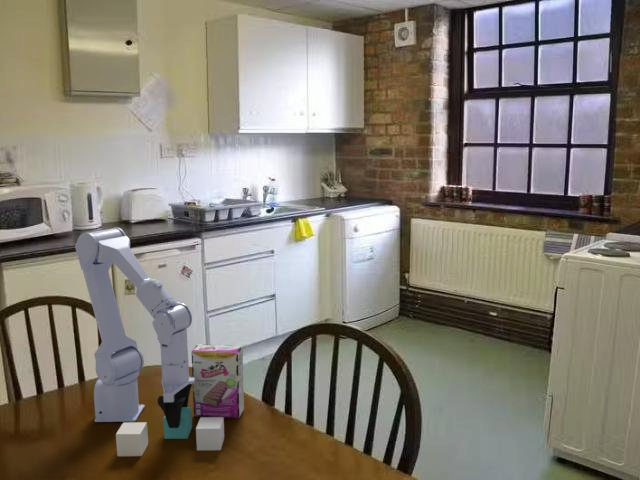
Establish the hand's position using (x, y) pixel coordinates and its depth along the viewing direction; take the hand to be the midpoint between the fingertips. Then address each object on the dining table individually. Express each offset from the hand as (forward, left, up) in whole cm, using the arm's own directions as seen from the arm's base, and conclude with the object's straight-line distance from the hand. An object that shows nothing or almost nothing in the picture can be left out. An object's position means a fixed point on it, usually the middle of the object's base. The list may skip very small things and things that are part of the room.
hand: (178, 418), depth 133 cm
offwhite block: (-8, -7, -4) cm, 11 cm away
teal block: (0, 0, -4) cm, 4 cm away
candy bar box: (+8, +9, -4) cm, 12 cm away
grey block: (+8, -5, -4) cm, 10 cm away
